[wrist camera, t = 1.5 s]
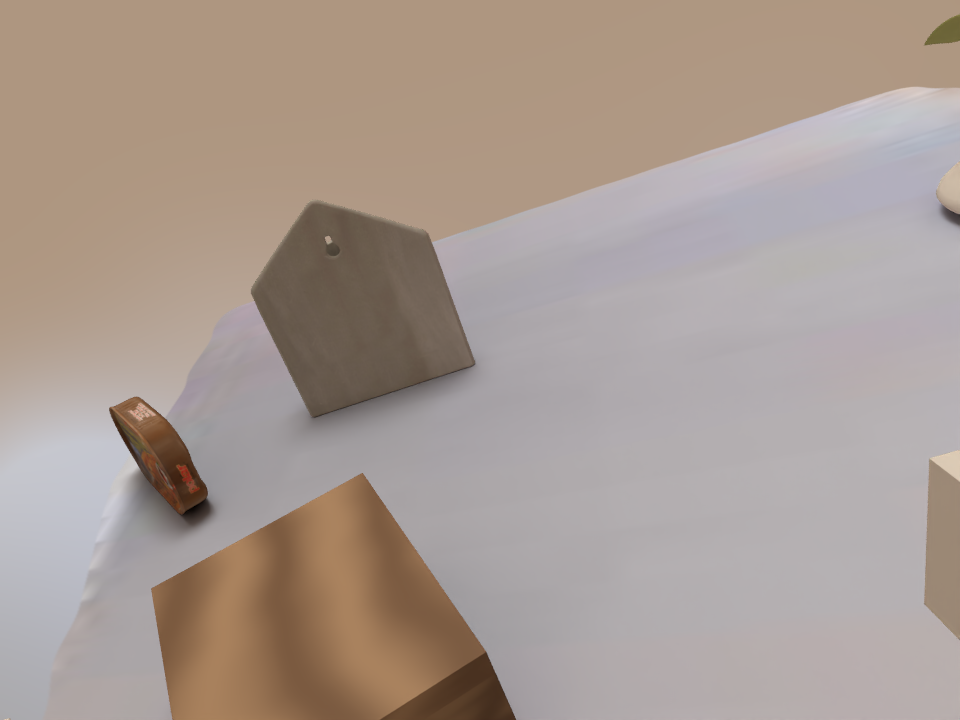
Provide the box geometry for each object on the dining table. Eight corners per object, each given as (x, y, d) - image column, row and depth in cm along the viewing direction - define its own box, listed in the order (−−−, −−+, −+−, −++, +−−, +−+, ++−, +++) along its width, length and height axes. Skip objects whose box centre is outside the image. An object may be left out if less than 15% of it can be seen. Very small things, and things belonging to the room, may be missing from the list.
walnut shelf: (405, 562, 56) (362, 472, 52) (533, 758, 41) (486, 651, 37) (212, 676, 52) (151, 588, 48) (273, 936, 37) (192, 839, 33)
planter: (467, 328, 83) (402, 146, 74) (476, 365, 76) (405, 169, 67) (316, 377, 84) (233, 203, 75) (311, 419, 77) (218, 233, 68)
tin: (139, 470, 79) (93, 400, 75) (168, 452, 80) (125, 381, 76) (193, 530, 67) (142, 450, 63) (227, 507, 69) (179, 427, 65)
